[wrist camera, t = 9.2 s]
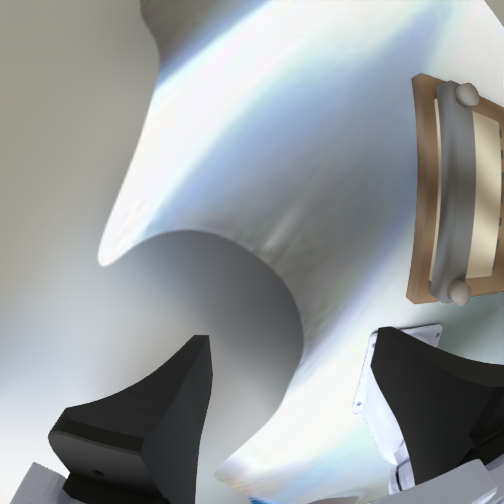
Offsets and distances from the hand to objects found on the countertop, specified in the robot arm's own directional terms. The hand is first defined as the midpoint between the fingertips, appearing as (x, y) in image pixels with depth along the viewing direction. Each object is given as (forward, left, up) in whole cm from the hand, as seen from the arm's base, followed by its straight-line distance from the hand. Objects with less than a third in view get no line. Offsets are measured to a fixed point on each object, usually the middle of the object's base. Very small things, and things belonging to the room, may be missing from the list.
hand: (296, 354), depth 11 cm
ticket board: (+7, -21, -9) cm, 24 cm away
